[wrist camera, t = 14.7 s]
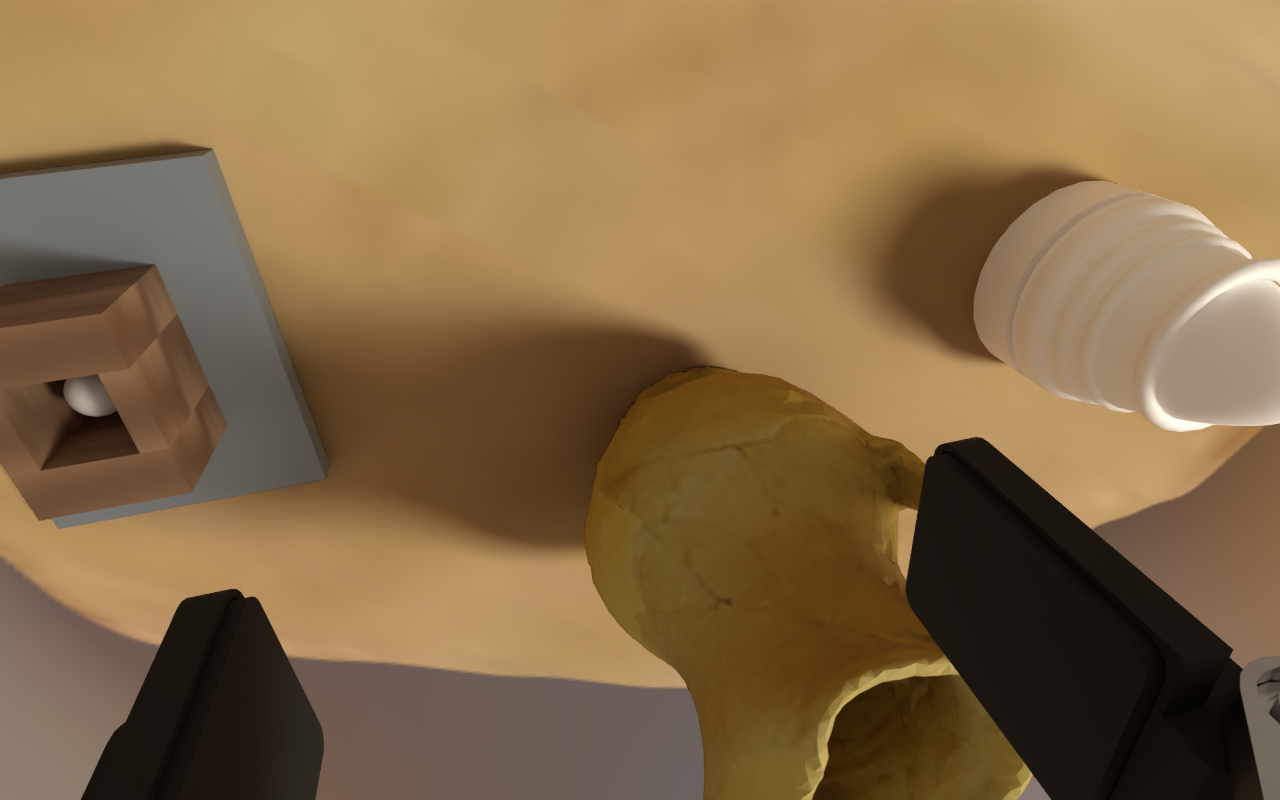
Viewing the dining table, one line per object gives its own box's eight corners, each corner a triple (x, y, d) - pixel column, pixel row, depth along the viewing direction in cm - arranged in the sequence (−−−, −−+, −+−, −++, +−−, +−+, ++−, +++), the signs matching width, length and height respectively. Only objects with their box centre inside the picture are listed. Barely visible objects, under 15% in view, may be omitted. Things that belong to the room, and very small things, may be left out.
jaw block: (3, 285, 32) (-82, 340, 27) (155, 264, 33) (101, 313, 28) (96, 447, 37) (39, 520, 32) (227, 425, 38) (192, 493, 33)
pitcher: (558, 345, 41) (664, 715, 20) (851, 316, 45) (1203, 606, 24) (572, 564, 50) (658, 985, 29) (817, 526, 53) (1054, 876, 32)
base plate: (-133, 188, 30) (-244, 225, 26) (213, 148, 33) (170, 176, 28) (71, 511, 40) (17, 583, 35) (330, 464, 42) (313, 526, 37)
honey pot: (1183, 190, 46) (1545, 289, 31) (1095, 367, 52) (1361, 524, 37) (1019, 169, 42) (1334, 269, 27) (945, 362, 48) (1169, 532, 33)
